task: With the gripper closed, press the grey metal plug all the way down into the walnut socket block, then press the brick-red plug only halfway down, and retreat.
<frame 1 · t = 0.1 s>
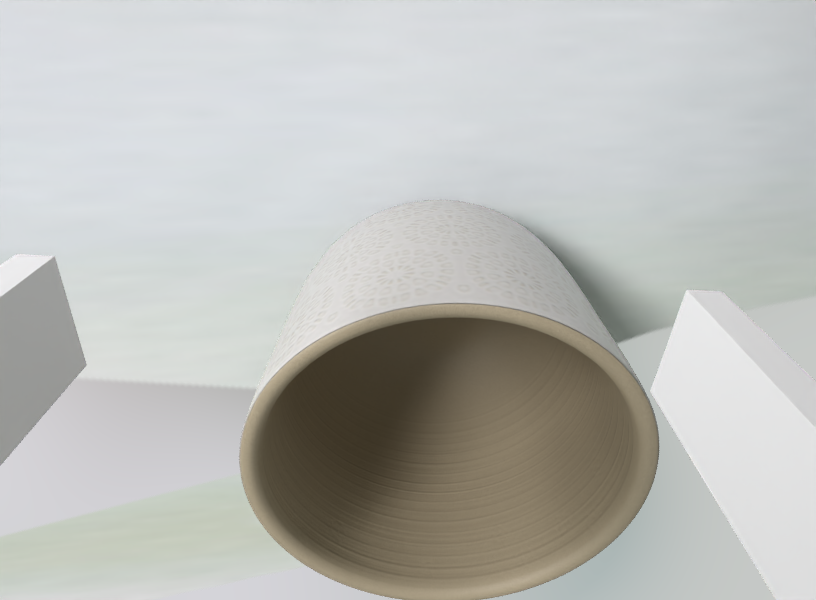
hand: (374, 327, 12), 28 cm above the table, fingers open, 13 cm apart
planter: (432, 294, 44), on the table
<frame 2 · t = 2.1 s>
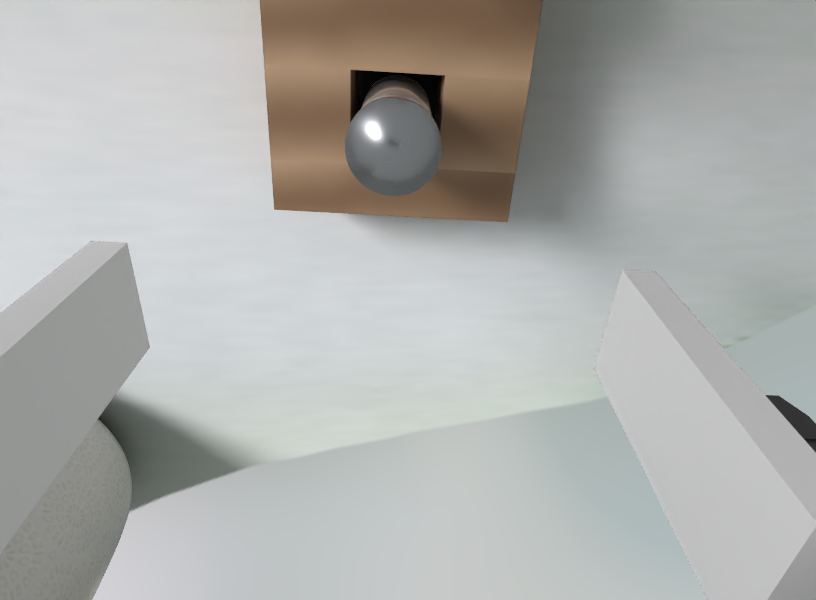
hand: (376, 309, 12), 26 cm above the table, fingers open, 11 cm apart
planter: (46, 438, 50), on the table
plug grey: (395, 127, 28), point 8 cm above the table, slide at 0.0 cm
socket block: (401, 4, 32), on the table
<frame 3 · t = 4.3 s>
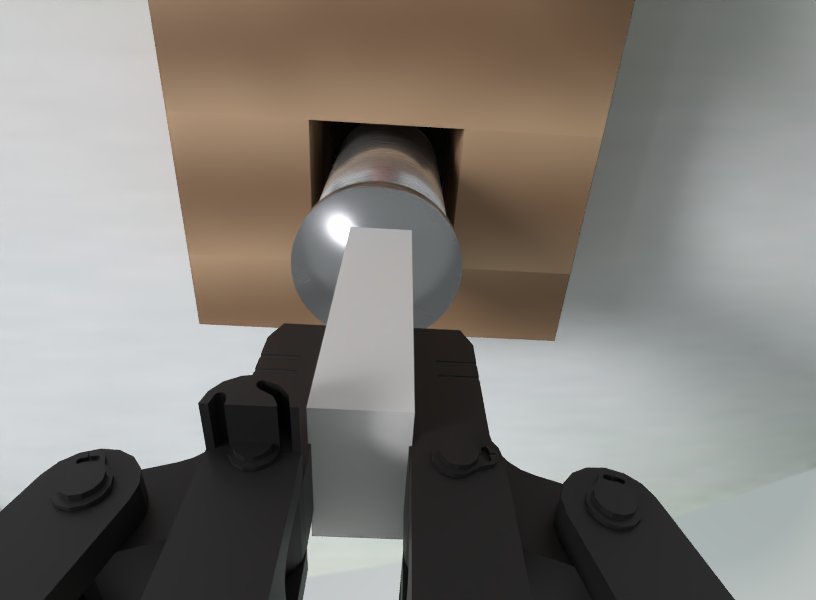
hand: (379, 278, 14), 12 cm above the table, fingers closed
plug grey: (383, 208, 18), point 7 cm above the table, slide at 0.6 cm, touching gripper
socket block: (394, 11, 21), on the table
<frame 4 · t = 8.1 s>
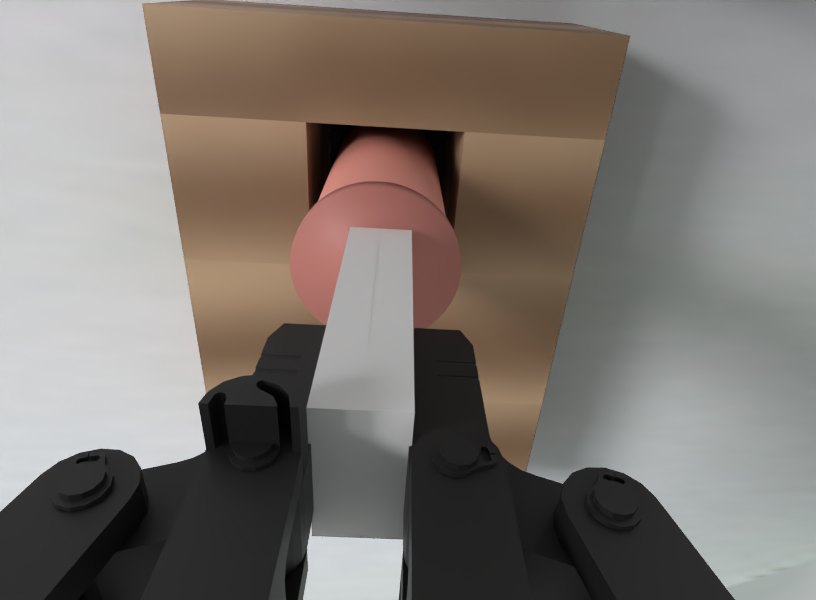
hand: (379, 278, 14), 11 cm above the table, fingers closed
socket block: (383, 268, 26), on the table
plug red: (382, 208, 18), point 7 cm above the table, slide at 1.0 cm, touching gripper
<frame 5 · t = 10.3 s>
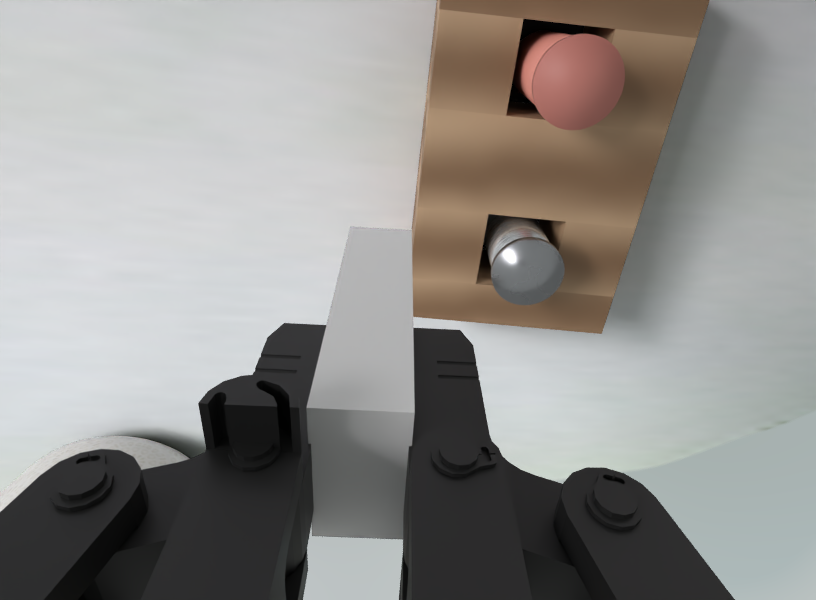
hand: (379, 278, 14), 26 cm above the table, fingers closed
planter: (146, 482, 55), on the table
plug grey: (515, 244, 37), point 4 cm above the table, slide at 3.0 cm
socket block: (520, 147, 38), on the table
plug red: (557, 73, 30), point 6 cm above the table, slide at 1.8 cm
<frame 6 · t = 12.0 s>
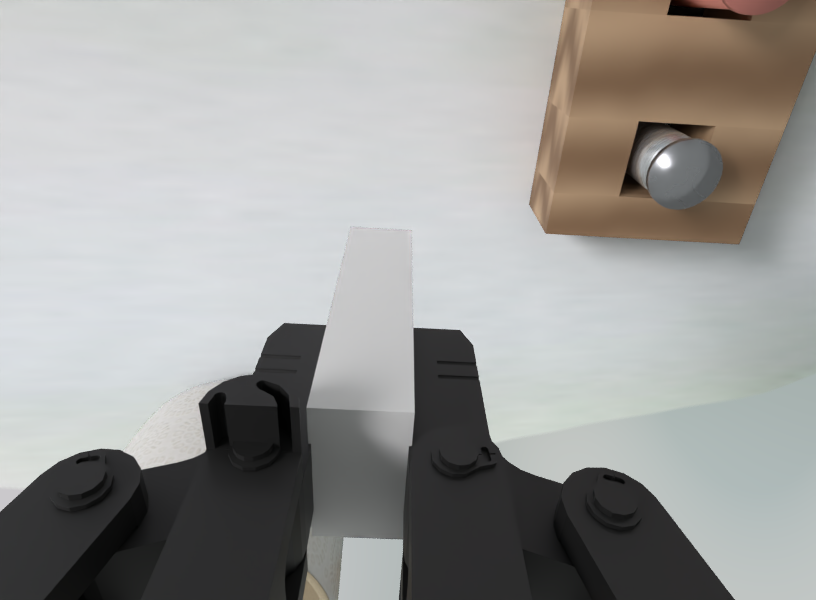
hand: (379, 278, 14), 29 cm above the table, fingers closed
planter: (256, 429, 56), on the table
plug grey: (656, 156, 37), point 4 cm above the table, slide at 3.0 cm
socket block: (653, 61, 38), on the table
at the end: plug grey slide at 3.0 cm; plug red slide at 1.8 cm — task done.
